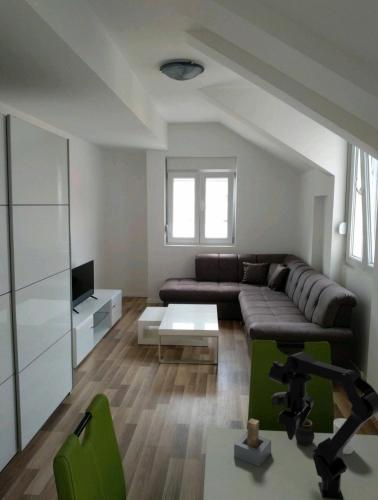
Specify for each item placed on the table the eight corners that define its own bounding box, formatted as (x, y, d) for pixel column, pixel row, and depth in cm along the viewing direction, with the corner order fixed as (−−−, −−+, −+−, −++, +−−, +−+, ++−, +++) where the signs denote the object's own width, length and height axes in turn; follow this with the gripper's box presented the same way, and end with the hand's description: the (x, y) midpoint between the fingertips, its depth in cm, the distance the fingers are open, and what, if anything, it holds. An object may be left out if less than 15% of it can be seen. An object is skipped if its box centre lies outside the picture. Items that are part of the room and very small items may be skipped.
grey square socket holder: (270, 452, 147) (271, 440, 146) (259, 466, 139) (259, 454, 138) (246, 443, 152) (246, 431, 152) (233, 456, 144) (234, 443, 144)
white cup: (351, 443, 153) (352, 418, 152) (357, 456, 145) (359, 430, 144) (330, 442, 154) (331, 417, 152) (335, 454, 146) (336, 428, 145)
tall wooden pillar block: (258, 451, 146) (258, 420, 145) (254, 455, 143) (255, 424, 142) (250, 448, 148) (251, 418, 146) (247, 453, 145) (247, 421, 144)
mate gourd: (297, 447, 150) (297, 421, 149) (292, 435, 158) (293, 411, 157) (316, 447, 150) (317, 422, 149) (310, 436, 158) (311, 412, 157)
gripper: (284, 374, 147) (283, 414, 149) (263, 393, 132) (262, 437, 133) (314, 382, 141) (313, 424, 142) (296, 403, 125) (294, 449, 127)
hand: (295, 433), depth 136 cm, fingers open, 9 cm apart
